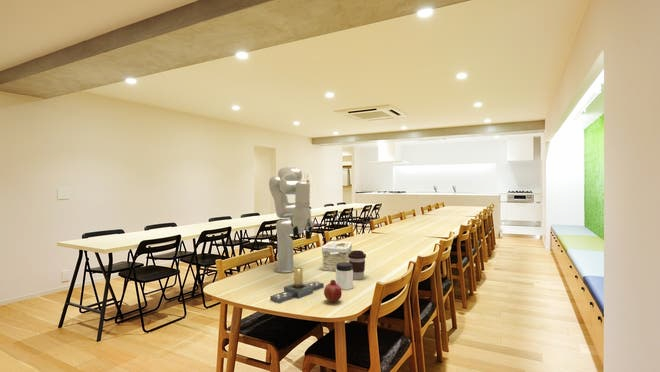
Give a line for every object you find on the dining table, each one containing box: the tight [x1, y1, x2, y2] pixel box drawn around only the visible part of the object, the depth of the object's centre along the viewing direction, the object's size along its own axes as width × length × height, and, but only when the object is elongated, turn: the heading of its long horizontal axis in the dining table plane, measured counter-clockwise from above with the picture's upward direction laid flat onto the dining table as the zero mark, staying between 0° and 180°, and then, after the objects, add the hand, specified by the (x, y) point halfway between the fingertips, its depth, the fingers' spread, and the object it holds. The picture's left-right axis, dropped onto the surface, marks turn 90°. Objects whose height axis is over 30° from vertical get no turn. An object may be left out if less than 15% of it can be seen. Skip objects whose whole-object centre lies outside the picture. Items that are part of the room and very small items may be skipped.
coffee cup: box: [348, 250, 367, 281], centre depth 191 cm, size 10×10×15 cm
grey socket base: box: [269, 281, 325, 304], centre depth 165 cm, size 10×30×3 cm, turn 140°
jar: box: [335, 262, 354, 291], centre depth 174 cm, size 9×8×12 cm
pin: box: [293, 267, 304, 289], centre depth 165 cm, size 4×4×12 cm
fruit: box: [323, 279, 342, 303], centre depth 153 cm, size 8×8×10 cm
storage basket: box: [321, 240, 353, 272], centre depth 217 cm, size 24×16×15 cm
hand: (301, 237), depth 180 cm, fingers open, 9 cm apart
